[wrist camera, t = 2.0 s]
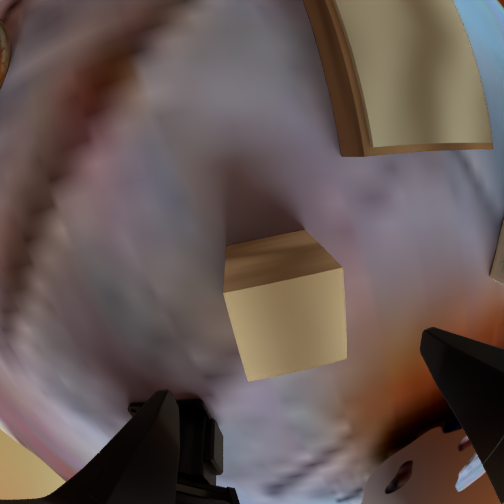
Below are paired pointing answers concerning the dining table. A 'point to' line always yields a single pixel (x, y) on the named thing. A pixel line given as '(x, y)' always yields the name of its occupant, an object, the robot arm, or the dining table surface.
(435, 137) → the plinth
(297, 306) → the block
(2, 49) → the tin
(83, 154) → the dining table surface
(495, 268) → the syrup box
